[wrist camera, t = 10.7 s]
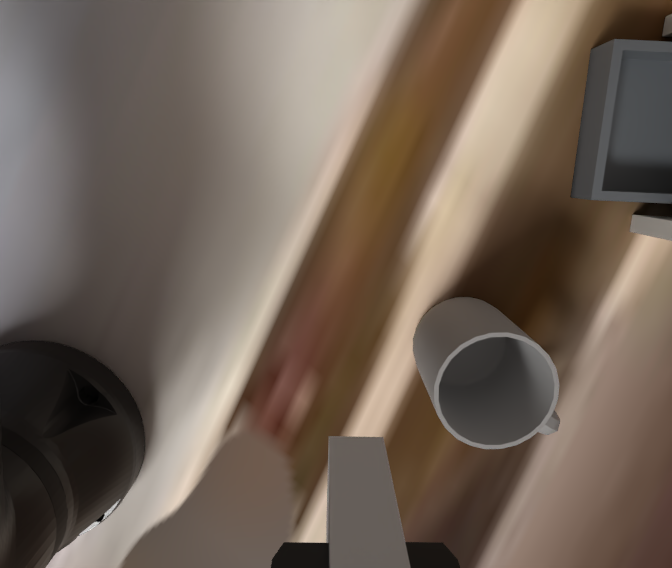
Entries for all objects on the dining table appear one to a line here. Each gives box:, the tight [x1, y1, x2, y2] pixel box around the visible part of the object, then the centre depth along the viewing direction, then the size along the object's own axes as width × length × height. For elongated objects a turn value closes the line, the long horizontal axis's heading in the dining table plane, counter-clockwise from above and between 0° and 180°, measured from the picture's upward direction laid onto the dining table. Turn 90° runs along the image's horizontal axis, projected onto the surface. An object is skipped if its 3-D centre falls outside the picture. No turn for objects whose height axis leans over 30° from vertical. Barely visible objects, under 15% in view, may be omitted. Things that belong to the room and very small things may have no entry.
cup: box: [413, 297, 560, 449], centre depth 35 cm, size 7×10×9 cm
